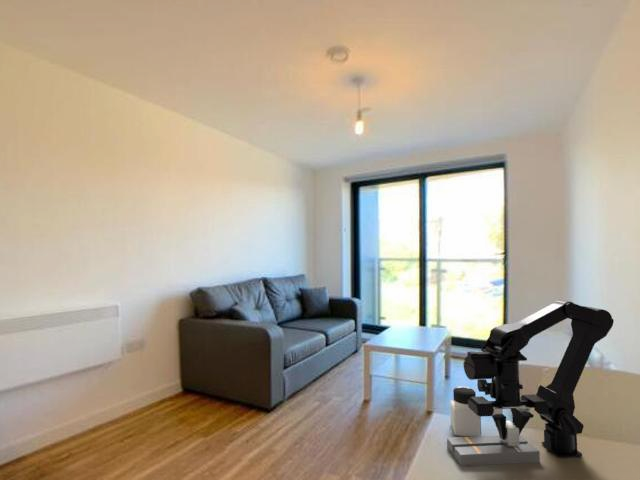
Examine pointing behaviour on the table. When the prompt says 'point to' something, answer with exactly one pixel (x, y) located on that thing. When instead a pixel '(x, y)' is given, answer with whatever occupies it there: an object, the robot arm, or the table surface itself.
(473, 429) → the medicine bottle
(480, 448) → the slider console
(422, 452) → the table surface
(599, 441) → the table surface
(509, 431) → the fader tab
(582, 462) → the table surface
